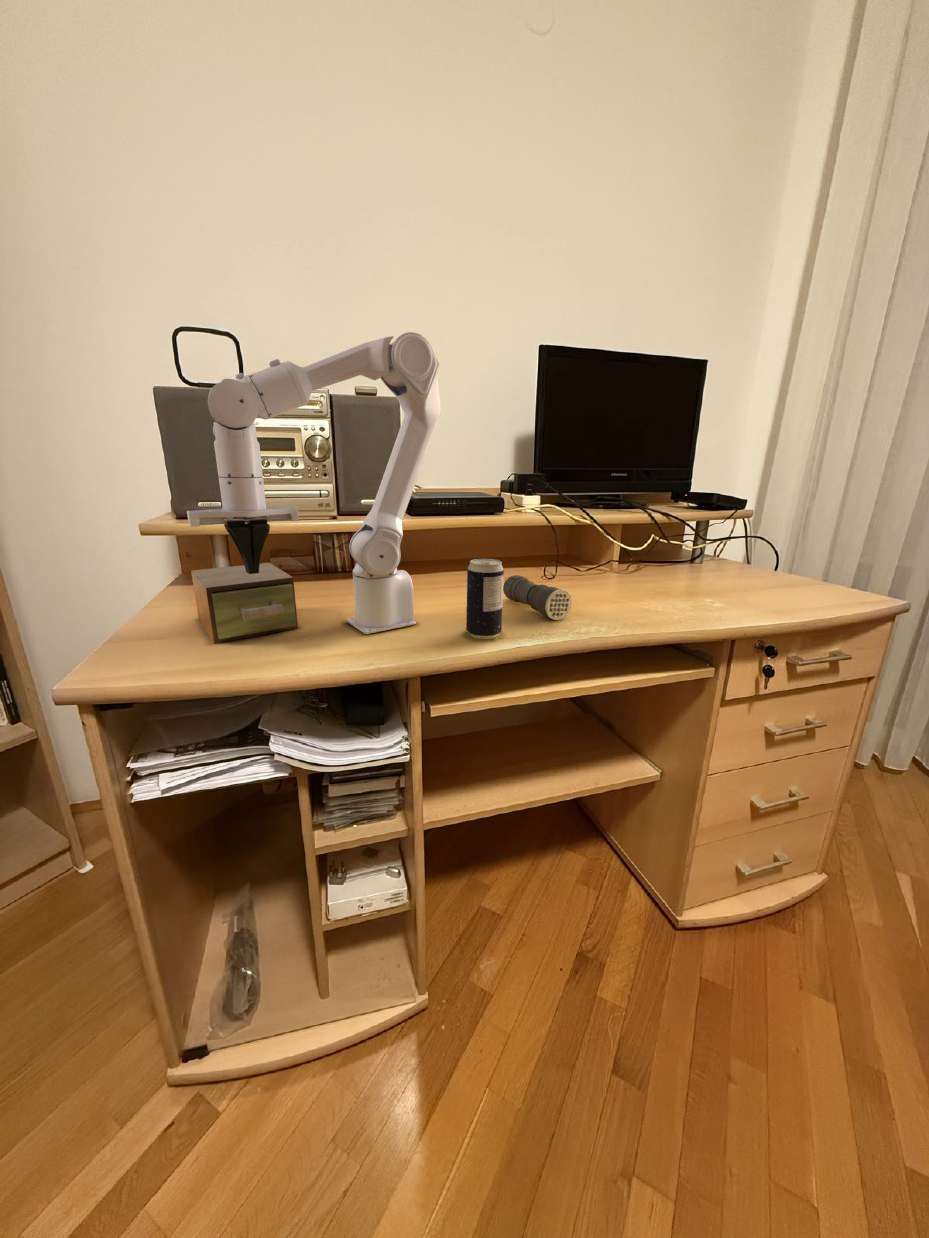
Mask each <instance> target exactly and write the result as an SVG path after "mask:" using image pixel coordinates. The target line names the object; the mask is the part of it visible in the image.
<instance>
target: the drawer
mask: <svg viewBox="0 0 929 1238" xmlns="http://www.w3.org/2000/svg"><path fill="white" fill-rule="evenodd" d="M211 595H212V601H213V608H214V615H215V622H216V628H217V635H218V638H219V639H224V638H230V637H235V636H241V635H247V634H252V633H258V632H264V631H269V630H275V629H281V628H287V627H292V626H296V617H295V606H294V596H293V585H292V584H275V585H267V586H259V587H251V588H243V589H235V590H227V591H219V592H212V594H211Z"/></svg>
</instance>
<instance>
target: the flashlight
mask: <svg viewBox="0 0 929 1238" xmlns="http://www.w3.org/2000/svg"><path fill="white" fill-rule="evenodd" d="M503 595H504V596H505V597H506V598H507V599H508V600H510V601H511V602H514V603H517V604H518V603H521V604H524V605H528V606H530V607H531V609H532V610H534V611H536V612H539V613H540V614H541V615H542V616H545V617H546V618H549V619H552V620H554V621H560V620H562V619H564V618H565V617H567V615H569V613H570V611H571V608H572V602H573V601H572V597H571V594H570V593H569V592H568V591H566V590H564V589H561V588H558V587H556V586H548V585H546V584H537V583H534V582H533V581H531V580H529V579H528V578H527V577H525V576H521V575H519V574H515V575H511V576H509V577H508V578H507V579H506V580H504V583H503Z"/></svg>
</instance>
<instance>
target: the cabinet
mask: <svg viewBox="0 0 929 1238" xmlns="http://www.w3.org/2000/svg"><path fill="white" fill-rule="evenodd" d="M190 572H191V580H192V586H193V592H194V599H195V604H196V605H195V606H196V611H197V616H198V621H199V622H200V624H201V626H202V627H203V629H204V630H205V631H206V633H207V635H208V637H210V639H211V641H212V642H213V644H218V643H223V642H230V641H236V640H240V639H241V640H242V639H246V638H253V637H257V636H264V635H268V634H269V635H270V634H274V633H281V632H284V631H285V632H286V631H292V630H297V629H299V624H298V612H297V601H296V593H295V591H296V590H295V582H294V577H293V576H291V575H290V574H288V573H287V572H286V571H284V570H282V569H280V568H279V567H277V566H276V565H274V564H273V563H271V562H262V563H261V562H260V564H259V573H255V574H248V573H247V572H246V569H245V566H244V564H242V565H232V566H231V565H230V566H222V567H213V568H203V569H192V570H190ZM275 584H292V585H293V596H294V606H295V617H296V626H292V627H287V628H281V629H275V630H269V631H264V632H258V633H252V634H247V635H241V636H235V637H230V638H224V639H219V638H218V635H217V628H216V622H215V615H214V608H213V601H212V595H211V594H212V592H219V591H227V590H235V589H243V588H251V587H259V586H267V585H275Z"/></svg>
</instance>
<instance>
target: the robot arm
mask: <svg viewBox="0 0 929 1238" xmlns="http://www.w3.org/2000/svg"><path fill="white" fill-rule="evenodd" d="M394 337H395V336H394V335H392V336H384V337H381V338H378V339H374V340H370V341H366V342H363V343H361V344H359V345H356V346H354V347H351V348H348V349H346V350H343V351H341V352H338V353H336V354H333V355H331V356H328V357H326V358H323V359H321V360H318V361H316V362H313V363H310V364H307V365H306V366H300V365H297V364H295V363H294V362H291V361H289V360H287V361H284V362H281V361H280V359H279V358H276V359H274V360H273V359H272V360H270V361H269V363H268V365H269V367H266V368H263V369H261V370H258V371H255V372H252V373H249V374H246V375H245V374H244V373H243V372H239V373H237V374H235V378H223V379H222V380H221V381H220V382H217V383H216V384H214V385H213V386H212V387H211V389H210V391H209V393H208V396H207V406H208V411H209V413H210V415H211V417H212V419H213V420H214V422H213V426H212V434H213V436H214V437H215V440H214V441H213V446H214V452H215V461H216V468H217V474H218V475H217V476H218V483H219V490H220V498H221V506H222V508H211V509H197V510H195V509H194V510H186V514H187V515H186V516H187V522H188V526H190V527H191V528H192V527H193V528H194V527H201V526H212V525H213V526H215V525H216V526H217V525H224V528H225V530H226V532H227V533H228V535H229V536H230V538H231V540H232V541H233V544H234V545H235V547H236V549H237V550H238V553H239V555H240V558H241V560H242V562H243V565H244V566H245V569H246V572H247V573H248V574H255V573H259V564H261V557H262V553H263V550H264V549H263V548H264V546H265V542H266V540H267V537H268V535H269V533H270V530H271V526H270V524H269V523H270V522H287V521H291V522H299V521H300V517H299V507H296V506H267V502H266V492H265V484H264V483H265V482H264V474H263V465H262V456H261V445H260V442H259V441H258V437H257V429H256V428H257V426H256V423H255V421H256V419H258V418H259V419H262V420H265V421H267V420H269V419H271V418H275V417H277V416H280V415H282V414H286V413H288V412H290V411H293V410H295V409H298V408H302V407H304V406H307V405H308V404H309V402H310V398H311V395H312V393H313V391H314V392H315V391H316V390H317V391H318V390H319V389H322V388H326V387H329V386H332V385H334V384H338V383H341V382H344V381H347V380H350V379H353V378H356V377H359V376H362V377H365V378H367V379H370V380H372V381H377V380H379V379H380V380H381V381H382V383H383V385H385V386H386V387H387V389H388V390H389V391H390V392H391V393H392V394H393V395H394V396H395V397H396V399H397V401H398V403H399V405H400V408H401V409H402V411H403V414H404V416H403V419H402V422H401V424H400V427H399V430H398V433H397V436H396V439H395V442H394V444H393V447H392V451H391V453H390V456H389V459H388V462H387V464H386V467H385V470H384V473H383V476H382V479H381V481H380V484H379V487H378V490H377V492H376V496H375V499H374V501H373V504H372V507H371V510H370V511H369V512H368V513H367V515H366V516H365V517H364V519H363V522H362V525H361V526H360V528H359V529H358V530H357V531H356V532H355V533H354V534H353V535H352V537H351V539H350V541H349V547H348V548H349V553H350V555H351V557H352V559H353V560H354V561H355V562H356V563H355V566H354V568H353V569H352V585H353V586H352V588H353V603H354V606H353V607H354V617H349V618H346V619H345V621H346V623H347V624H350V626H352V627H354V628H355V629H356V630H358V631H359V632H361V633H363V634H365V635H370V634H373V633H380V632H385V631H389V630H394V629H400V628H404V627H409V626H415V625H416V624H417V620H415V609H414V608H415V607H414V606H415V605H414V604H415V603H414V598H415V597H414V585H413V580H412V577H411V575H410V574H409V572H407V571H406V570H405V569H398V566H399V564H400V563H401V556H402V555H401V554H402V553H401V543H402V539H403V537H404V531H403V519H404V517H405V514H406V512H407V509H408V505H409V503H410V500H411V497H412V494H413V492H414V489H415V486H416V484H417V481H418V479H419V475H420V472H421V469H422V467H423V464H424V462H425V459H426V457H427V453H428V450H429V449H430V445H431V442H432V439H433V437H434V434H435V431H436V429H437V425H438V423H439V420H440V417H441V412H442V405H441V399H440V398H441V397H440V387H439V379H438V375H439V370H440V361H439V360H438V358H437V356H436V354H435V351H434V349H433V348H432V346H431V343H430V342H429V341H428V340H427V338H426V337H424V336H423V335H422V334H420V333H418V332H414V331H408V332H404V333H402V334H400V335H399V336H397V337H396V338H395V340H394V341H392V340H393V339H394ZM234 518H237V519H234ZM238 518H239V519H238Z"/></svg>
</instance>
